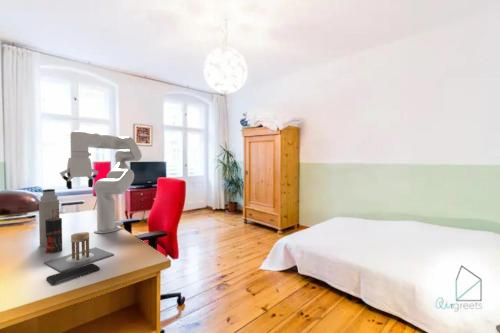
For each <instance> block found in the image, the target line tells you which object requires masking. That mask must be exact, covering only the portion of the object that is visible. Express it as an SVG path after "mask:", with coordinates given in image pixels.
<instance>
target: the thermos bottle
mask: <svg viewBox="0 0 500 333" xmlns="http://www.w3.org/2000/svg"><path fill="white" fill-rule="evenodd" d="M58 198H59V197H58V195H57V194H56V189H55V188H53V189H52V188H47V189H42V195H41V196H40V200H38V219H39V220H38V222H39V223H38V224H39V227H38V228H39V235H38V236H39V247H41V248H44V247H45V248H46V223H45V220H47V219H52V218H60V199H58Z"/></svg>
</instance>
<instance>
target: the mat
mask: <svg viewBox="0 0 500 333" xmlns="http://www.w3.org/2000/svg"><path fill="white" fill-rule="evenodd" d="M114 255H115V253H113V252H110V251H107V250H104V249H102V248H99V247H92V248H89V257H86V249H85V255H83V256H82V250H80V251H79V260H76V252H75V258H72V253H71V254H67V255H64V256H60V257H57V258H53V259H49V260H45V261H43V263H44V264H45V265H46V266H48V267H50V268H52V269H53V270H56V271H58V272H59V273H61V272H64V271H68V270H71V269H75V268H78V267H81V266H85V265H88V264H93V263H94V262H98V261H101V260H103V259H106V258H107V259H108V258H110V257H113V256H114Z"/></svg>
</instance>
